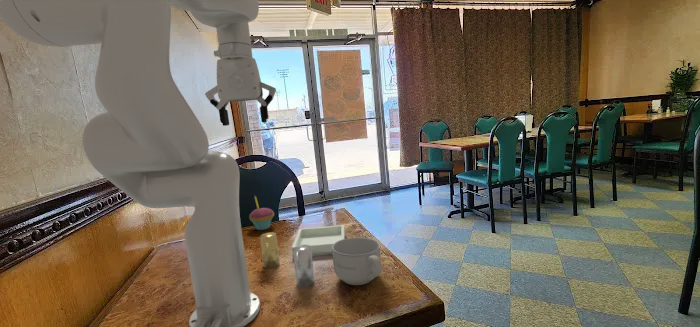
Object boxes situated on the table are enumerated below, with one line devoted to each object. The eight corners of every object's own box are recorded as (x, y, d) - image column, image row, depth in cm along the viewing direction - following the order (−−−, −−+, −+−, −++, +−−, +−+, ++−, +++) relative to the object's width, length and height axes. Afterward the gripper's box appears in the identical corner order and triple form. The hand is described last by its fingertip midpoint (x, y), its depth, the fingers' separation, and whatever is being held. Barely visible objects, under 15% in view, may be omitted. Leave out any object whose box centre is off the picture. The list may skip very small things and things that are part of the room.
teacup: (328, 273, 71) (325, 241, 70) (370, 262, 75) (368, 231, 74) (349, 305, 58) (346, 266, 57) (398, 290, 62) (396, 253, 61)
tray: (345, 253, 81) (344, 242, 81) (293, 257, 81) (291, 247, 80) (344, 234, 95) (344, 225, 94) (300, 237, 95) (299, 228, 94)
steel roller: (313, 285, 66) (310, 251, 65) (295, 287, 66) (291, 252, 65) (315, 276, 70) (311, 243, 69) (298, 278, 70) (294, 245, 69)
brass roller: (277, 267, 76) (274, 237, 75) (261, 269, 76) (258, 239, 75) (281, 260, 80) (277, 231, 79) (265, 261, 80) (262, 233, 79)
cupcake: (245, 231, 105) (241, 198, 103) (259, 223, 113) (256, 191, 111) (267, 232, 102) (263, 198, 101) (280, 223, 110) (276, 191, 109)
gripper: (193, 53, 71) (204, 127, 73) (268, 48, 72) (276, 121, 74) (206, 59, 78) (216, 126, 80) (274, 55, 79) (281, 121, 81)
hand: (245, 123), depth 77 cm, fingers open, 9 cm apart
